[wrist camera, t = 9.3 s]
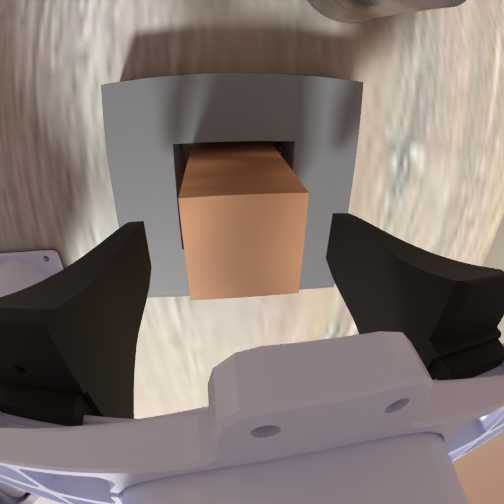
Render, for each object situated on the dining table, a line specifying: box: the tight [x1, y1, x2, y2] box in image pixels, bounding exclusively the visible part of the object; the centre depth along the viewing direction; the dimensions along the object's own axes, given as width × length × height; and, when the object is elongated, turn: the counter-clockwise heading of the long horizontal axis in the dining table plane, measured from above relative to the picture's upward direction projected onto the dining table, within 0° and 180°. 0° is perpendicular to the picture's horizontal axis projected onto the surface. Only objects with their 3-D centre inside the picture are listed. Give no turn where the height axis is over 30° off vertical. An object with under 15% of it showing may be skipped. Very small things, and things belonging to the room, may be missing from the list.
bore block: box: [101, 73, 363, 297], centre depth 17 cm, size 12×12×3 cm
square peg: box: [178, 141, 309, 300], centre depth 14 cm, size 4×4×8 cm
